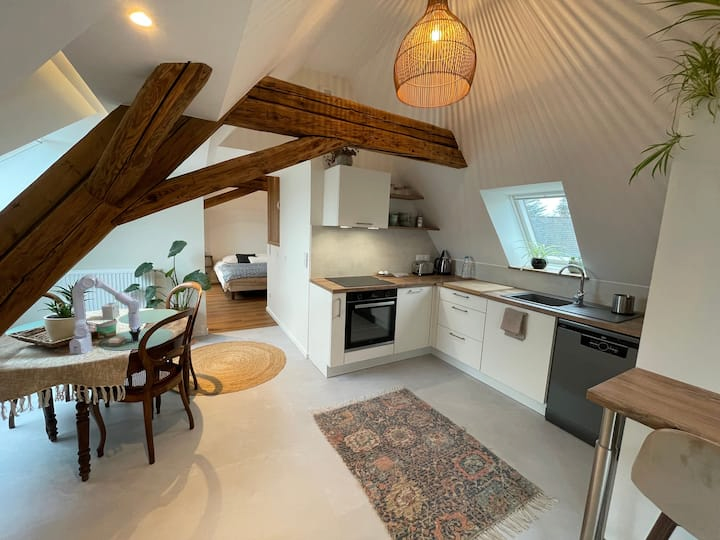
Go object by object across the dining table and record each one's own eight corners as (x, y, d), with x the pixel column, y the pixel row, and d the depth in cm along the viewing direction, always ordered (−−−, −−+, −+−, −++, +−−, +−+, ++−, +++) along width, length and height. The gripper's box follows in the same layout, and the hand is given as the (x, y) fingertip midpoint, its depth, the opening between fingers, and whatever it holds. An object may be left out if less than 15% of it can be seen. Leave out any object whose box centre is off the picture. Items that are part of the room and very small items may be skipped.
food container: (104, 340, 186) (102, 325, 185) (96, 339, 187) (94, 324, 186) (123, 333, 198) (122, 319, 196) (115, 332, 199) (114, 318, 198)
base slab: (119, 347, 179) (119, 343, 179) (107, 347, 178) (107, 343, 178) (126, 342, 185) (126, 339, 185) (115, 342, 185) (115, 339, 184)
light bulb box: (109, 316, 230) (108, 302, 229) (120, 315, 232) (118, 302, 231) (102, 320, 220) (101, 306, 219) (113, 319, 222) (112, 306, 221)
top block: (118, 342, 179) (118, 339, 179) (108, 342, 178) (108, 339, 178) (124, 339, 184) (124, 336, 184) (115, 339, 184) (115, 336, 184)
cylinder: (137, 342, 185) (137, 336, 184) (130, 342, 185) (129, 336, 184) (142, 340, 189) (141, 334, 189) (134, 340, 189) (134, 334, 188)
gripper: (142, 320, 181) (143, 341, 183) (142, 314, 193) (143, 334, 195) (127, 322, 177) (129, 344, 179) (128, 316, 189) (130, 336, 191)
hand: (135, 339), depth 187 cm, fingers open, 7 cm apart
